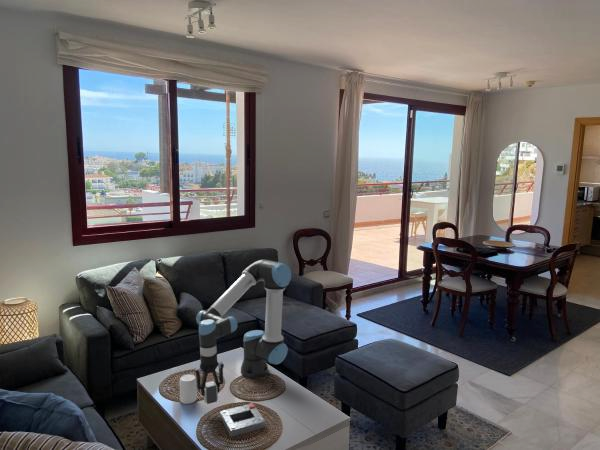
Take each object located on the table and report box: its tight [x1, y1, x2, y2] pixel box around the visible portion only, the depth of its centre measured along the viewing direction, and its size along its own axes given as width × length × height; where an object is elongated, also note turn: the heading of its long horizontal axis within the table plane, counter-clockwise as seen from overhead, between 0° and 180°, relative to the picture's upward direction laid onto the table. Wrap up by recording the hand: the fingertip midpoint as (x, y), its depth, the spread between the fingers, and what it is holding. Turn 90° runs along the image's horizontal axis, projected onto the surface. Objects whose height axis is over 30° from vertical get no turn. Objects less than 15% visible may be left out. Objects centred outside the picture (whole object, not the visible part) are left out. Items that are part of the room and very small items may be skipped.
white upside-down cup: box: [178, 373, 198, 405], centre depth 218 cm, size 8×8×12 cm
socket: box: [219, 402, 266, 438], centre depth 202 cm, size 16×16×4 cm
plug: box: [205, 380, 218, 405], centre depth 208 cm, size 4×4×8 cm
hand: (210, 399), depth 209 cm, fingers closed on plug, 4 cm apart
